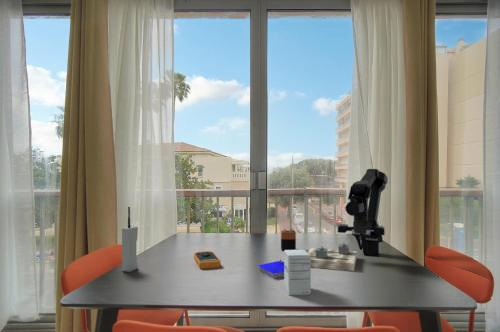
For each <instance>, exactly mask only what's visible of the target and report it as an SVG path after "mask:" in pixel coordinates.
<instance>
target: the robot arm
mask: <svg viewBox="0 0 500 332" xmlns="http://www.w3.org/2000/svg"><path fill="white" fill-rule="evenodd" d="M387 184H388V176H387V174H386V173H385V172H383V171H380V170H379V169H378V168H367V169H366V171H365V174H364V175H363V176H362V178H361V179H360V180H358V181H357V180H356V181H355V182H353V183H352V185H351V186H350V187H349V189H350V190H349V193H348V198H347V200H349V202H347V204H346V205H345V212H346V213H347V214H348V215H349V216H351V217H353V222H352V224H353V225H352V226H349V224H344V223H343V224H342V223H340V224H338V226H337V233H342V234H346V233H347V232H351V236H354V239H355V240H356V242H357V245H358V248H359V250H360V251H362V254H363V255H364V256H370V257H380V252H379V251H380V248H379V247H380V245H379V244H380V243H383V242H384V241H383V236H385V235H386V234H385V233H386V231H385V229H386V228H385V227H384V226H383V225H379V223H378V217H379V210H380V209H379V207H380V203H381V194H382V193H383V191H384V190H385V189H386V187H387Z"/></svg>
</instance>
